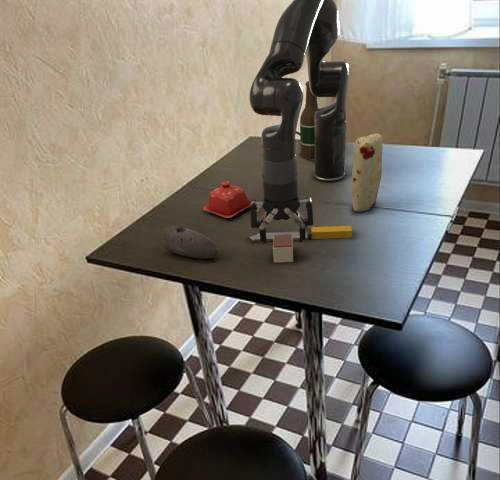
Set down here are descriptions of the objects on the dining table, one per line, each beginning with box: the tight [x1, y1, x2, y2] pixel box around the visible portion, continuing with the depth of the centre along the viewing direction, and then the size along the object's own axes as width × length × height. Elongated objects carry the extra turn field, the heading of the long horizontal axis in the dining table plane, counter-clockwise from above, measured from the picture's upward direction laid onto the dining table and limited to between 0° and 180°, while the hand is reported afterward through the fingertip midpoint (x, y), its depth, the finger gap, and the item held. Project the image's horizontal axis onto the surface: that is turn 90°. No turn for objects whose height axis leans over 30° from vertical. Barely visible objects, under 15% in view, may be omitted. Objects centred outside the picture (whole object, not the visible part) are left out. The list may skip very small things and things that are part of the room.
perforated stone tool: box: [161, 224, 219, 260], centre depth 120 cm, size 15×5×7 cm, turn 60°
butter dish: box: [202, 180, 252, 219], centre depth 138 cm, size 12×12×8 cm
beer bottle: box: [299, 80, 320, 159], centre depth 163 cm, size 8×8×24 cm
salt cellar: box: [272, 234, 294, 264], centre depth 117 cm, size 5×6×4 cm
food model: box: [351, 133, 383, 212], centre depth 129 cm, size 10×7×20 cm
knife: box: [249, 225, 353, 243], centre depth 124 cm, size 26×3×2 cm, turn 86°
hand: (282, 241), depth 116 cm, fingers open, 8 cm apart
